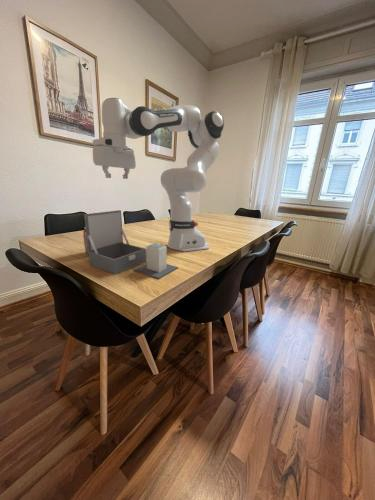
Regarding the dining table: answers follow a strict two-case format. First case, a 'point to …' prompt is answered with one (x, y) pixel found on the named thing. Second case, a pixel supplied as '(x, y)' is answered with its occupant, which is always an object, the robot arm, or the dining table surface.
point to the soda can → (85, 240)
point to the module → (156, 257)
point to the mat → (154, 273)
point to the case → (110, 243)
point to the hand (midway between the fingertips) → (117, 178)
